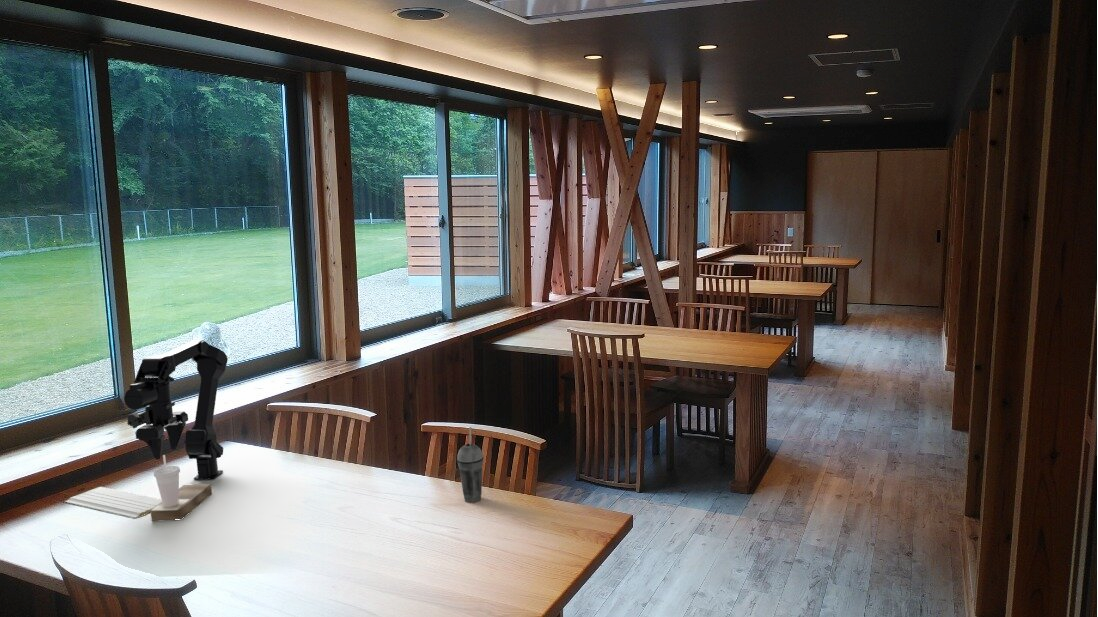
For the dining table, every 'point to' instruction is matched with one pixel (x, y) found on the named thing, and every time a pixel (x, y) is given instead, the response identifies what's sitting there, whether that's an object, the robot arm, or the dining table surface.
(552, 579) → the dining table surface
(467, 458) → the beverage cup
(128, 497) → the baseboard molding
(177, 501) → the smoothie
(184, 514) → the beam
